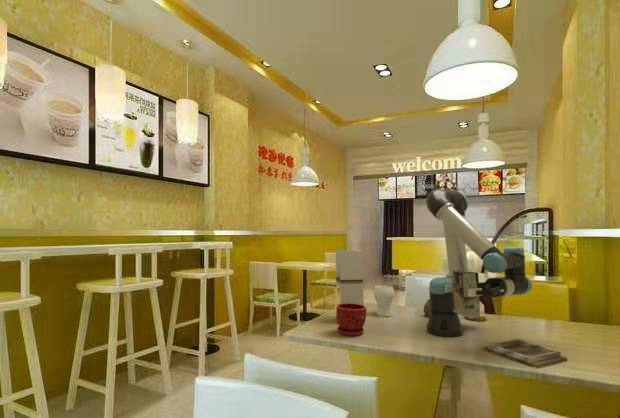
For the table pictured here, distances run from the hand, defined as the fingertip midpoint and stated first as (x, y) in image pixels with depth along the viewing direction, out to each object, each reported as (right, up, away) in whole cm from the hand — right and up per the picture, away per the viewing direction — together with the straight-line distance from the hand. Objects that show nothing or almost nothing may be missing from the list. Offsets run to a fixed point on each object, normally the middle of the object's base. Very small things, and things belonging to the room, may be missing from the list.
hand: (456, 290), depth 133 cm
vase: (+8, -26, +52) cm, 59 cm away
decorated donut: (+29, -26, +47) cm, 61 cm away
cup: (-15, -26, +56) cm, 64 cm away
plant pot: (-37, -24, +23) cm, 50 cm away
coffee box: (+4, -9, +1) cm, 10 cm away
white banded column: (-35, -26, +44) cm, 62 cm away
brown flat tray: (+22, -22, -6) cm, 31 cm away
